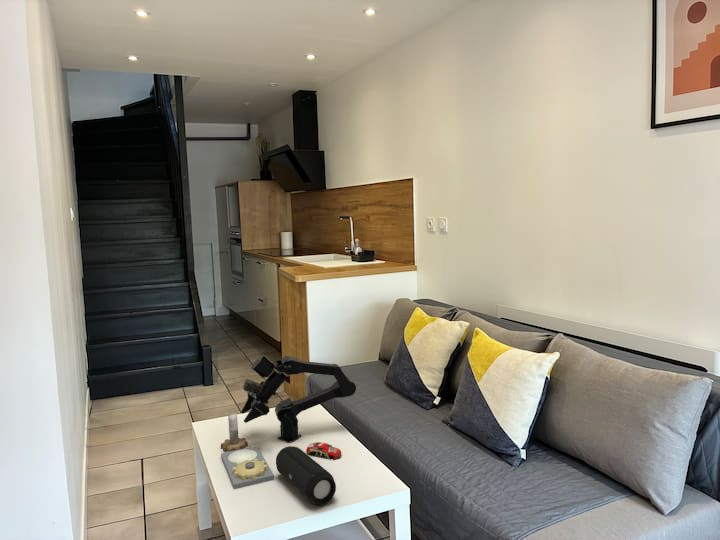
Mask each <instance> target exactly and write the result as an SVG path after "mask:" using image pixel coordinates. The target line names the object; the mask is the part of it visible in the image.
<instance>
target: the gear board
mask: <svg viewBox="0 0 720 540" xmlns="http://www.w3.org/2000/svg"><path fill="white" fill-rule="evenodd" d="M220 457H221V461H222V463H223V466H224V468H225V470H226V473H227V475H228V477H229V479H230V482H231V484H232V487H233V489H234V490H236V489H240V488H245V487H249V486H253V485H257V484H261V483H265V482H270V481H274V480H275V474H274V473H273V471H272V469H271V467H270V466H269V464H268V462H267V460H266V458H265V457H264V455H263V454H262V451H261V450H260V448H259V447H258V445H255V446H250V447H245V448H244V449H240V450H235V451H230V452H228V451H227V452H221V453H220Z"/></svg>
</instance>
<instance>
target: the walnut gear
mask: <svg viewBox="0 0 720 540" xmlns="http://www.w3.org/2000/svg"><path fill="white" fill-rule="evenodd" d="M227 419H228V421H227V422H228V434H229V438H226V439H224V442H222V443H220V449H221V450H222V453H225V452H230V451H235V450H240V449H244V448H248V446H249V443H248V442H249V441H248V440H246V437H242V438H240V437H239V425H238V424H239V423H238V422H239V421H238V413H235V412H234V413H233V412H232V413H229V414H228V418H227Z"/></svg>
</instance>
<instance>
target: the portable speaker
mask: <svg viewBox="0 0 720 540" xmlns="http://www.w3.org/2000/svg"><path fill="white" fill-rule="evenodd" d="M275 466H276V469H277V470H276V471H277V472H278V473H279V474H280V475H281V476H282V477H283V478H284V479H285V480H286V481H287V482H288V483H290V484H291V485H292V487H294V488H295V489H296V490H297V491H298V492H299V493H300V494H301V495H302V496H303V497H304V498H305V499H307V501H308V502H309V503H311V504H313V505H319V506H323V505H326V504H327V503H329V502H330V501H332V499H333V497H334V496H335V493H336V491H337V486H336V485H337V484H336V482H335V478H334V476H333V475H332V474H331V473H330V472H329V471H328V470H327V469H325V468H324V467H323V466H322V465H321V464H320V463H318V462H317V461H316V460H314V459H313V458H312V456H310V455H308V454H307V453H306V452H305V451H304V450H302V449H301V448H300V447H297V446H293V445H291V446H285V447H283V448H282V449H280V450H279V452H278V453H277V454H276V457H275Z"/></svg>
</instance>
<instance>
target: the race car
mask: <svg viewBox="0 0 720 540" xmlns="http://www.w3.org/2000/svg"><path fill="white" fill-rule="evenodd" d="M305 453H306V454H307V455H308V456H310V455H311V456H310V457H318V458H322V457H323V458H324V459H329V460H331V459H334V460H337V459H339V458H341V457H342V451H341V449H340V448H338V447H335V446H332V444H329V443H326V442H311V443H310V444H309V443H308V445H307V447H306V450H305ZM323 458H322V459H323Z"/></svg>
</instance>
